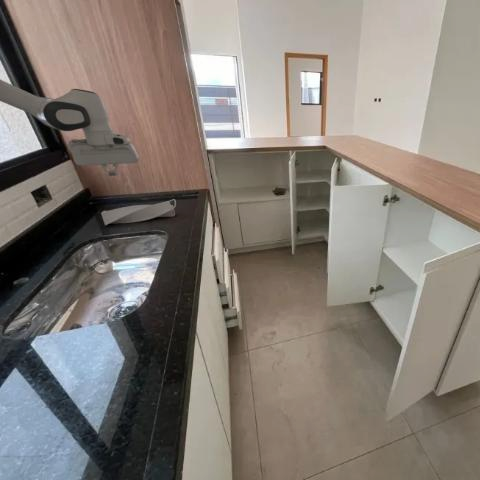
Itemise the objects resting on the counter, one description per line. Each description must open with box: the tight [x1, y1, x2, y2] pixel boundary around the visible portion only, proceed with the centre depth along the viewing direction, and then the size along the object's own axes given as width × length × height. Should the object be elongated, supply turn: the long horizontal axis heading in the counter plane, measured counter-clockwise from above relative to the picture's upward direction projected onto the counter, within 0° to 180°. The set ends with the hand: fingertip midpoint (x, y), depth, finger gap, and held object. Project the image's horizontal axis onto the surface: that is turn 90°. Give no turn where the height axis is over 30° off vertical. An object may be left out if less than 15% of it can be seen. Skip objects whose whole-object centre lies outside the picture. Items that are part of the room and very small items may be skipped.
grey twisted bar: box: [100, 198, 177, 226], centre depth 118 cm, size 8×8×28 cm
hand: (113, 175), depth 106 cm, fingers closed
